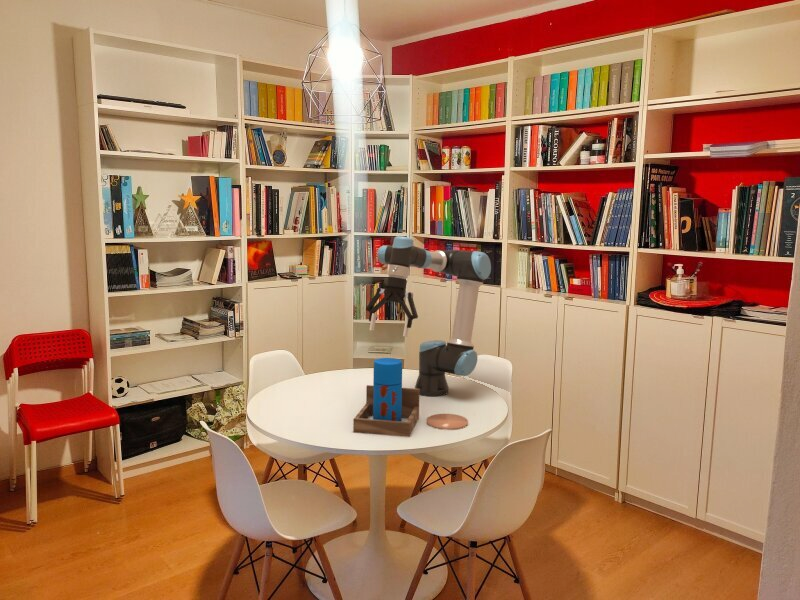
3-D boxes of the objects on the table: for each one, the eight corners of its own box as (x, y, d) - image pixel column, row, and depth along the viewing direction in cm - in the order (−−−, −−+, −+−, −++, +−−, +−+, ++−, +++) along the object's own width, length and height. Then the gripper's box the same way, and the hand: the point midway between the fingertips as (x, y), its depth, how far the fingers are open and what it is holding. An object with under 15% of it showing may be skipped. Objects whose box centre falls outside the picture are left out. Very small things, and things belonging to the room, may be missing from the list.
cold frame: (367, 414, 257) (367, 385, 255) (418, 418, 253) (419, 388, 251) (353, 432, 237) (353, 400, 235) (409, 436, 233) (409, 404, 231)
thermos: (379, 418, 252) (380, 356, 248) (405, 422, 248) (406, 359, 244) (368, 427, 242) (369, 362, 238) (394, 431, 238) (395, 365, 234)
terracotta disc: (429, 414, 258) (429, 412, 258) (469, 417, 255) (469, 415, 255) (423, 428, 242) (423, 425, 242) (465, 431, 239) (465, 428, 239)
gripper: (363, 272, 242) (354, 327, 241) (425, 280, 233) (416, 338, 232) (371, 274, 249) (361, 328, 248) (431, 283, 240) (422, 339, 239)
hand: (388, 333), depth 240 cm, fingers open, 13 cm apart
